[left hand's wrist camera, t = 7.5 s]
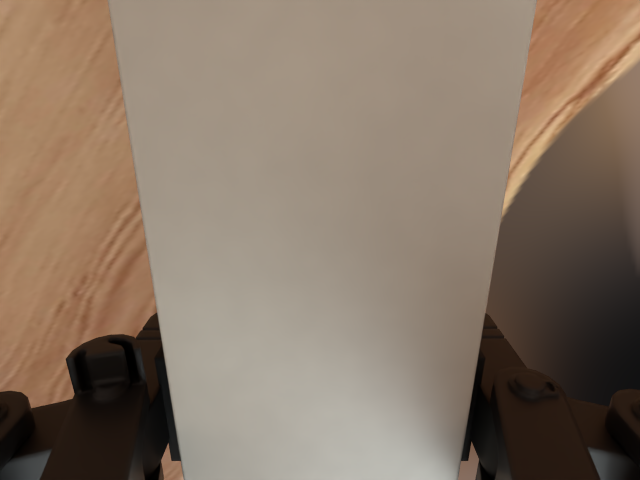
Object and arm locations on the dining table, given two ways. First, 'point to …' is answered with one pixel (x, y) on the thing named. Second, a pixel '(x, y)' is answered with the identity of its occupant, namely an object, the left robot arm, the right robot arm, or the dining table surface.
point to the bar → (321, 222)
